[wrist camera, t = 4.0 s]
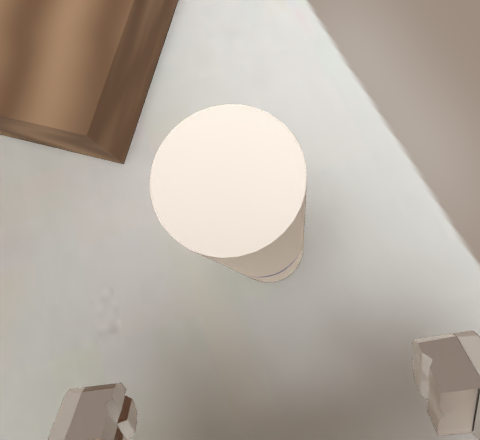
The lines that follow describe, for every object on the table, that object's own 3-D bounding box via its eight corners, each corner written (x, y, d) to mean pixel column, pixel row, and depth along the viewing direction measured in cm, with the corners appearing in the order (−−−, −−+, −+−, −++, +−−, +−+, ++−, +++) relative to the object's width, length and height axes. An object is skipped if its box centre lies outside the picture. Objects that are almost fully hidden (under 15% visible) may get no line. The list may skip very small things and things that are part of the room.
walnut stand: (-46, 123, 31) (-111, 89, 26) (19, -39, 33) (-30, -98, 28) (123, 163, 28) (86, 135, 23) (183, -15, 30) (160, -76, 25)
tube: (250, 203, 26) (188, 84, 12) (313, 228, 26) (331, 134, 11) (223, 265, 26) (124, 221, 11) (287, 293, 25) (268, 284, 10)
